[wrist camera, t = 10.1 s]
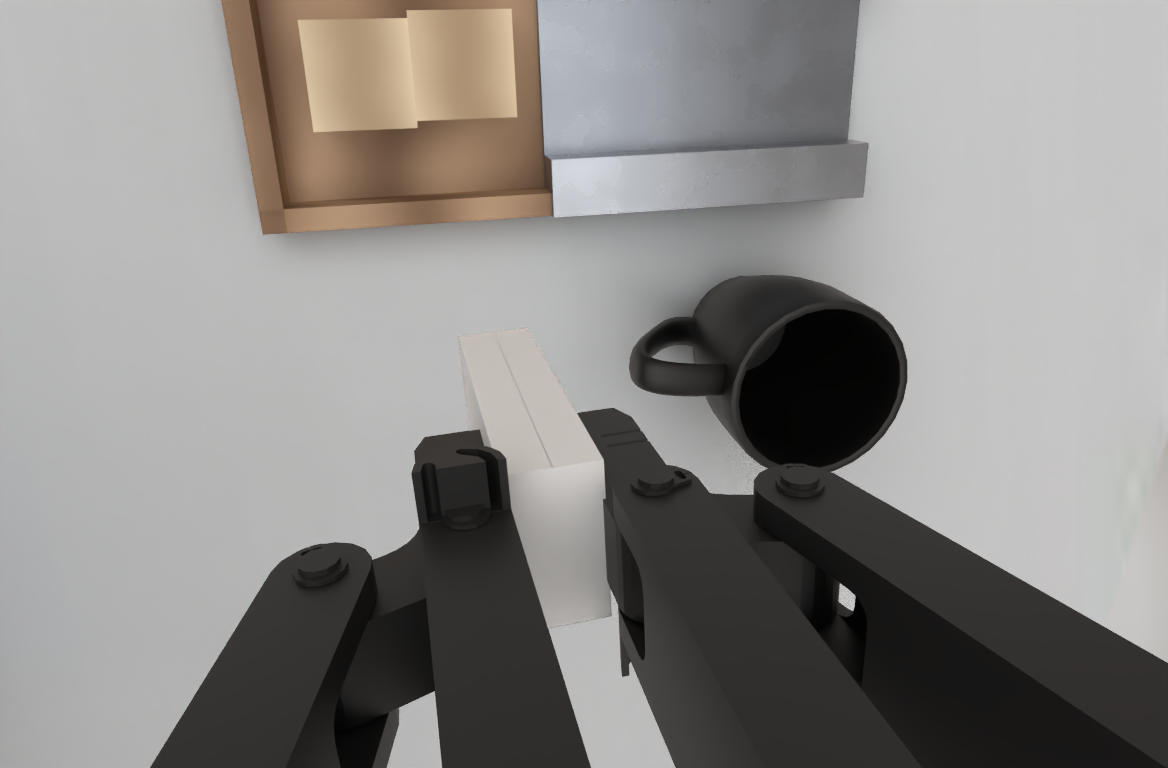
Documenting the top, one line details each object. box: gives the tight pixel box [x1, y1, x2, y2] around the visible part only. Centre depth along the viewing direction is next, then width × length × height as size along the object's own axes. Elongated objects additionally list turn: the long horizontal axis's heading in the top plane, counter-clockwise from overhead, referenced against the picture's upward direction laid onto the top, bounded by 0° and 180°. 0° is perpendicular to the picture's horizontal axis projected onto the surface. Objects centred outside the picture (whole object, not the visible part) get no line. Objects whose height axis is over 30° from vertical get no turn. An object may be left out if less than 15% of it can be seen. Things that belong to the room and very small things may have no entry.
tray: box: [221, 0, 552, 234], centre depth 35 cm, size 12×12×2 cm
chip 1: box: [298, 18, 418, 132], centre depth 33 cm, size 4×4×4 cm
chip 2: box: [406, 9, 517, 121], centre depth 34 cm, size 4×4×4 cm
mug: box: [629, 275, 907, 472], centre depth 39 cm, size 8×12×10 cm
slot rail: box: [536, 0, 868, 218], centre depth 37 cm, size 15×12×3 cm
